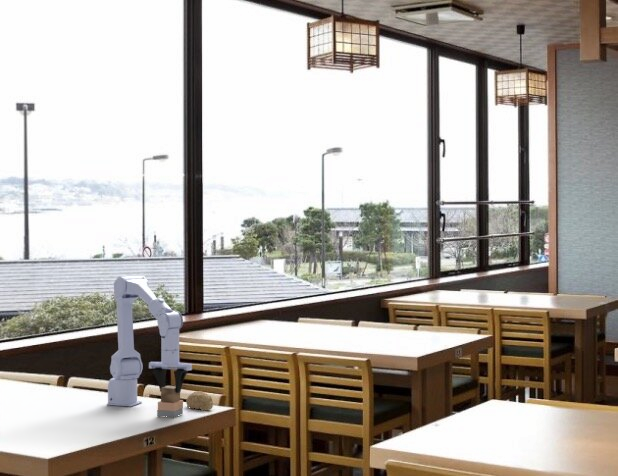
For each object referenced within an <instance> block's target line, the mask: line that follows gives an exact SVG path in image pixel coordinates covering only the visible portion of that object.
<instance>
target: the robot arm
mask: <svg viewBox="0 0 618 476" xmlns="http://www.w3.org/2000/svg"><path fill="white" fill-rule="evenodd" d="M113 295H114V297H113V299H114V301H116V302H115V304H116V321H117V324H116V325H117V343H118V344H117V345H118V348H117V349H118V350H117V351H115V353H114V354H112V355H111V362H110V366H109V371H110V375H112V378H110V379H109V381H108V383H107V403H106V405H107V406H118V407H119V406H120V407H133V406H136V405H139V404H141V403H143V401H142V400H138V379H139V378H140V375H141V374H142V373H143V372H142V371H143V362H142V359H141V353H139V352H138V351H137V350H135V344H134V343H135V342H134V340H135V339H134V338H135V337H134V324H133V323H134V322H133V321H134V318H133V303H134V301H136V300H137V299H139V298H140V299H141V300H142V301H144V303H146V304H147V305H148V307H147V309H148V312H149V313H150V314H151V315H152V316H153V317H154V318H155V320H156V321H157V327H158V329H159V335H160V336H161V338H160V339H161V342H160V343H161V347H160V349H161V350H160V352H161V353H160V354H161V355H160V356H161V357H160V358H161V359H160V360H161V361H150V362H148V369H154V370H153V371H152V373H153V375H154V376H155V377H154V378H155V379H156V382H157V383H158V384H157V385H158V388H159V392H160V393H161V388H162V387H165V386H166V375H167V371H168V370H174V371H173V374H174V380H175V381H174V383H175V386H176V393H179V392H180V393H181V391H182V387H183V383H184V380H185V378H186V375H188V371H192V370H193V364H192V363H185V362H180V330H181V328H183V325H184V318H183V315H182V313H181V311H179V310H177V311H176V310H173V309H172V308H171V307H170V305H168V303H166V301H165V299H163V298H161V297H160V298H159V297H158V298H157V296H156V295H155V294H154V292H153V291H152V290H151V288H150V287H149V280H148V279H147V278H146V276H144V275H135V276H133V275H132V276H130V275H129V276H122V275H119V276H118V277H116V279H115V281H114V282H113Z"/></svg>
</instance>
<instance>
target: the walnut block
mask: <svg viewBox="0 0 618 476" xmlns="http://www.w3.org/2000/svg"><path fill="white" fill-rule="evenodd" d="M180 400H181V392H179V393H176V385H174V386H173V385H165V387H162V388H161V392H160V401H161V402H171V403H174V402H177V401H180Z"/></svg>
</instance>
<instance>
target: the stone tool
mask: <svg viewBox="0 0 618 476" xmlns="http://www.w3.org/2000/svg"><path fill="white" fill-rule="evenodd" d="M185 402H186V407H190V408H189V409H194V408H195V409H194V410H200V409H201V410H200V411H203V410H204V411H208V410H212V409H213V407H214V402H213V397H212V396H211V395H209V394H207V393H206V392H204V391H200V390H198V391H197V390H196V391H193V392H192V393H190V394H189V395H188V397H187V398H186V401H185Z"/></svg>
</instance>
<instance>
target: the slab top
mask: <svg viewBox="0 0 618 476" xmlns="http://www.w3.org/2000/svg"><path fill="white" fill-rule="evenodd" d="M181 408H183V409H184V400H183V399H180V401H177V402H174V403H171V402H161V400H160V401H158V402H157V410H165V411H176V410H179V409H181Z"/></svg>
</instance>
